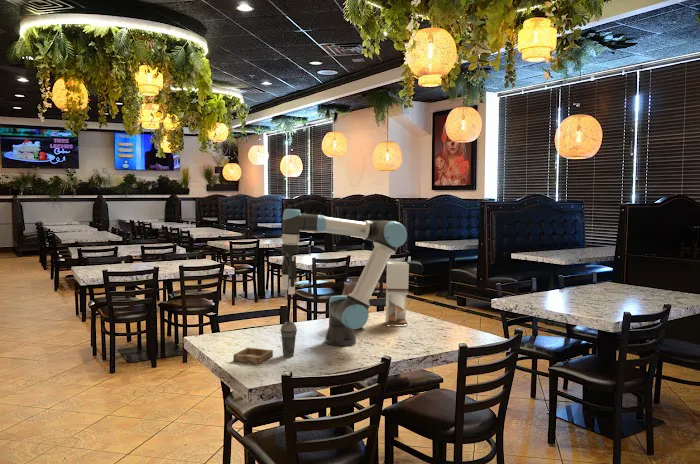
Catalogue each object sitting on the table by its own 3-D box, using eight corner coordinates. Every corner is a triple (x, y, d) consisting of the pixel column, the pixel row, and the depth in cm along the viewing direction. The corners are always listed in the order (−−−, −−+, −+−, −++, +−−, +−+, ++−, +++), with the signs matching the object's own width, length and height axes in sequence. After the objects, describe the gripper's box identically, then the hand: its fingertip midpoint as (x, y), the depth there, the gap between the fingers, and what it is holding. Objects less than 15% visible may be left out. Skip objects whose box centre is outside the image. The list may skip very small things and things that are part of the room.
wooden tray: (272, 357, 238) (272, 350, 238) (259, 364, 226) (259, 357, 226) (247, 354, 242) (247, 347, 242) (233, 361, 230) (233, 354, 230)
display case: (386, 326, 302) (388, 263, 300) (385, 322, 312) (386, 261, 310) (407, 326, 302) (408, 264, 300) (405, 322, 312) (406, 262, 310)
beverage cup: (280, 353, 243) (281, 309, 242) (296, 353, 244) (297, 309, 243) (279, 358, 236) (280, 313, 235) (296, 358, 237) (297, 313, 236)
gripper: (276, 241, 250) (273, 287, 251) (288, 246, 226) (285, 296, 227) (292, 242, 252) (289, 287, 253) (305, 246, 229) (303, 296, 230)
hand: (287, 291), depth 240 cm, fingers open, 13 cm apart
